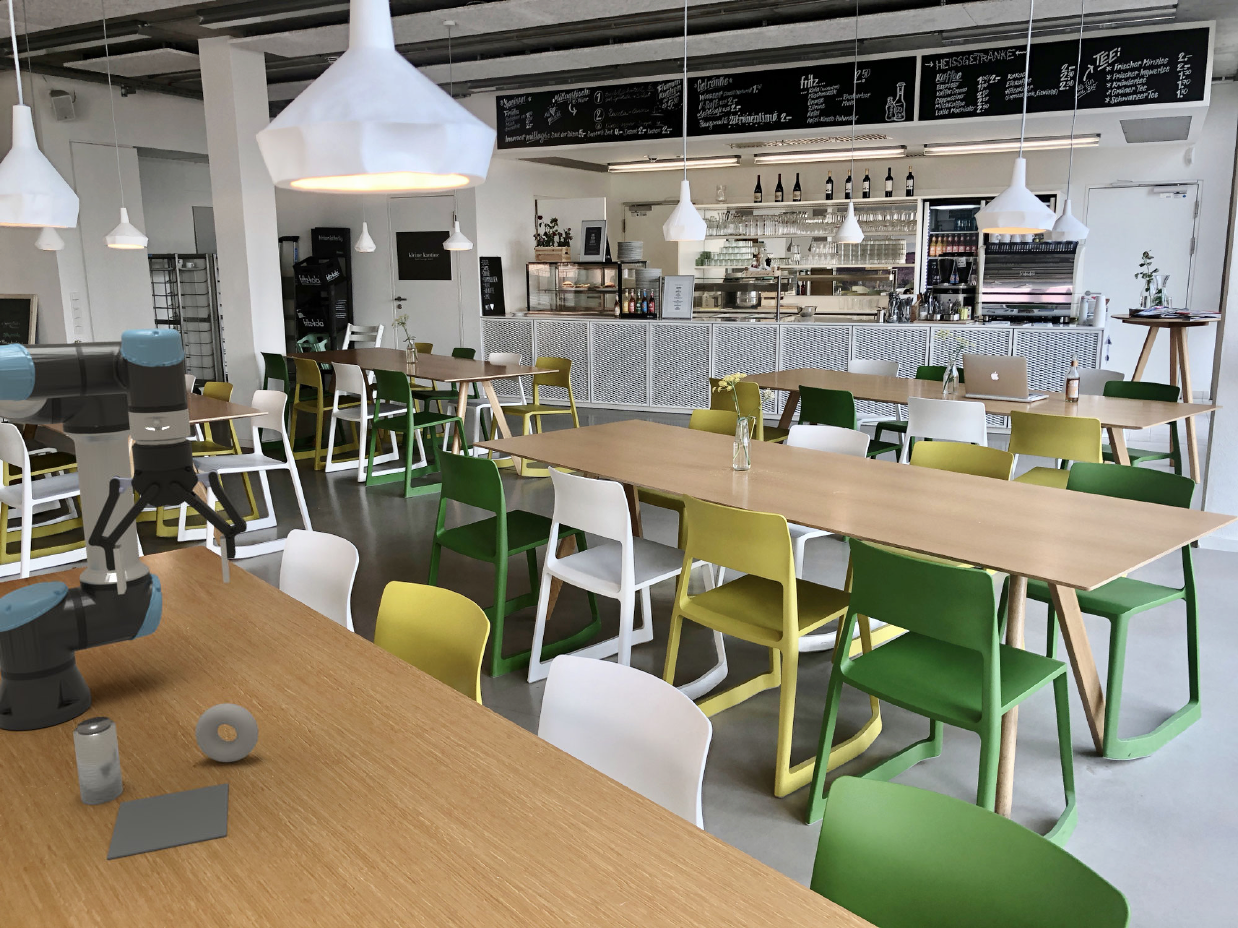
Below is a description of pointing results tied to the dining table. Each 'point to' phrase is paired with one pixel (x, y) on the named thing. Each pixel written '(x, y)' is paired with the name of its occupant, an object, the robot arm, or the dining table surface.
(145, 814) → the mat
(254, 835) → the dining table surface
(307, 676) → the dining table surface
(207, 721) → the donut
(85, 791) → the shaker
